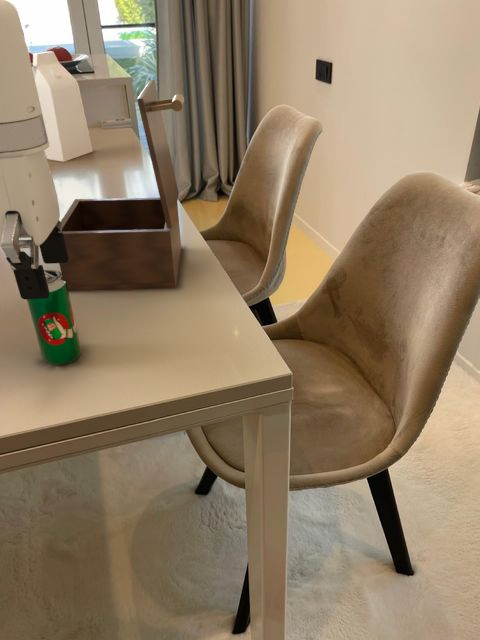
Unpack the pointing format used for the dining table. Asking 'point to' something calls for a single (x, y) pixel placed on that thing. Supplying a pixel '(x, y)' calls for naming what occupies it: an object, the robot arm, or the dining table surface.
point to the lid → (160, 145)
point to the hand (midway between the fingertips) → (47, 279)
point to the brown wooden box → (120, 245)
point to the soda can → (55, 322)
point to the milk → (60, 109)
